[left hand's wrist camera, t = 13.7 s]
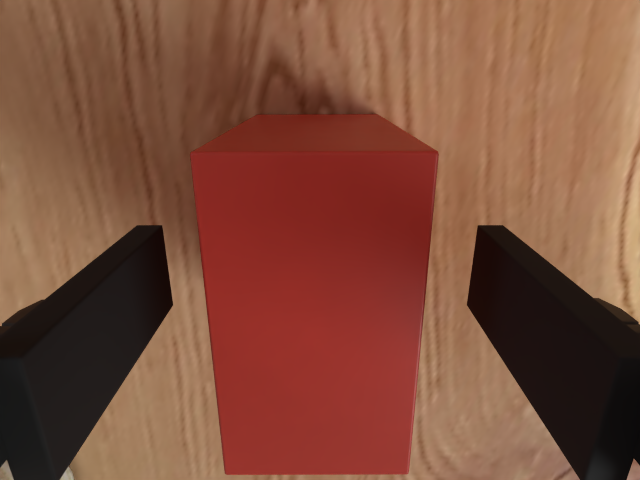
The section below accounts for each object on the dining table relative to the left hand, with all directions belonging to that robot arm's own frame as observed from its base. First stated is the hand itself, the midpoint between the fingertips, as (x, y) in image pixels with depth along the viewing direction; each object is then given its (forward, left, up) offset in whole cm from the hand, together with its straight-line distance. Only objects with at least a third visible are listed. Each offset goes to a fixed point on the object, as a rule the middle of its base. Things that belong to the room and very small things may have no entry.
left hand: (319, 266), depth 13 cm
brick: (0, 0, -6) cm, 6 cm away
